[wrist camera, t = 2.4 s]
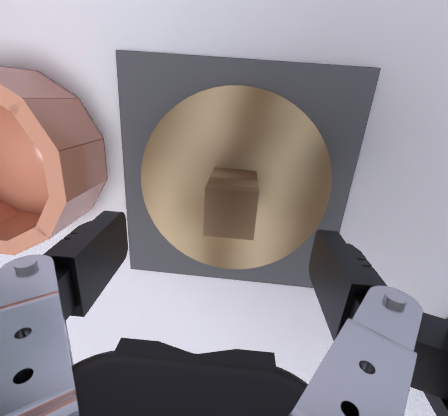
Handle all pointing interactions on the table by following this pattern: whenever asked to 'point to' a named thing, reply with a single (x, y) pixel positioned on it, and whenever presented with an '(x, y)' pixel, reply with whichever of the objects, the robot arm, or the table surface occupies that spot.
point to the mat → (248, 76)
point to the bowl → (44, 159)
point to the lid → (236, 177)
